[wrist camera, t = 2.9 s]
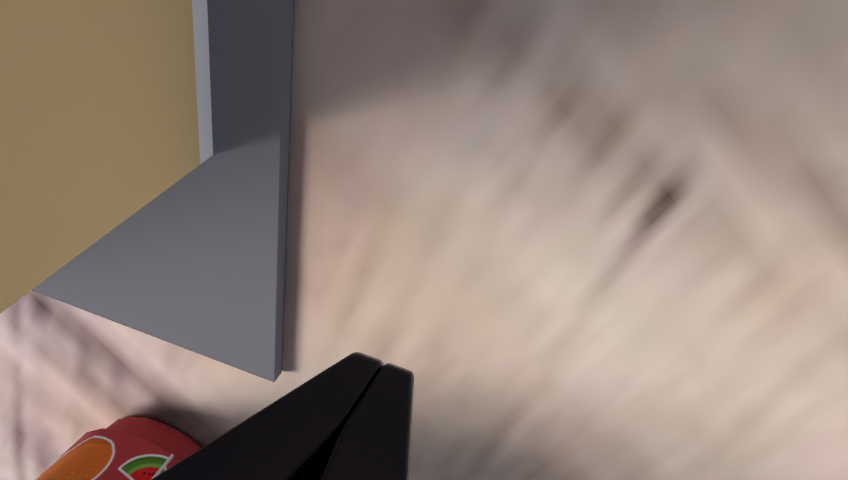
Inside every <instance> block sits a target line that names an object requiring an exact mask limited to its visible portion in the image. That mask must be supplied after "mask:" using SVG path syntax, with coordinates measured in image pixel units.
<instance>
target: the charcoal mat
mask: <svg viewBox="0 0 848 480" xmlns="http://www.w3.org/2000/svg"><path fill="white" fill-rule="evenodd" d="M207 10H208V36H209V62H210V88H211V114H212V140H213V155H212V156H211V157H210V158H208V159H207V160H206V161H204V162H203V163H202V164H200V165H199V166H197V167H196V168H195V169H193V170H192V171H191V172H189V173H188V174H187V175H185V176H184V177H183V178H181V179H180V180H179V181H177V182H176V183H175V184H173V185H172V186H171V187H169V188H168V189H167V190H165V191H164V192H162V193H161V194H160V195H158V196H157V197H156V198H154V199H153V200H152V201H150V202H149V203H148V204H146V205H145V206H144V207H142V208H141V209H140V210H138V211H137V212H136V213H134V214H133V215H132V216H130V217H129V218H128V219H126V220H125V221H123V222H122V223H121V224H119V225H118V226H117V227H115V228H114V229H113V230H111V231H110V232H109V233H107V234H106V235H105V236H103V237H102V238H101V239H99V240H98V241H97V242H95V243H94V244H93V245H91V246H90V247H88V248H87V249H86V250H84V251H83V252H82V253H80V254H79V255H78V256H76V257H75V258H74V259H72V260H71V261H70V262H68V263H67V264H66V265H64V266H63V267H62V268H60V269H59V270H58V271H56V272H55V273H54V274H52V275H51V276H49V277H48V278H47V279H45V280H44V281H43V282H41V283H40V284H39V285H37V286H36V287H35V288H33V289H32V290H33V291H36V292H38V293H41V294H43V295H46V296H49V297H51V298H54V299H57V300H59V301H62V302H64V303H67V304H70V305H72V306H75V307H78V308H80V309H83V310H86V311H88V312H91V313H93V314H96V315H99V316H101V317H104V318H107V319H109V320H112V321H114V322H117V323H120V324H122V325H125V326H128V327H130V328H133V329H135V330H138V331H141V332H143V333H146V334H149V335H151V336H154V337H156V338H159V339H162V340H164V341H167V342H170V343H172V344H175V345H178V346H180V347H183V348H185V349H188V350H191V351H193V352H196V353H199V354H201V355H204V356H206V357H209V358H212V359H214V360H217V361H220V362H222V363H225V364H227V365H230V366H233V367H235V368H238V369H241V370H243V371H246V372H248V373H251V374H254V375H256V376H259V377H262V378H264V379H267V380H270V381H272V382H275V380H276V379H277V378H278V376H279V375H280V373H281V371H282V341H283V311H284V281H285V251H286V221H287V191H288V161H289V131H290V102H291V72H292V42H293V12H294V0H207Z"/></svg>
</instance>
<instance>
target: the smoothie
mask: <svg viewBox="0 0 848 480" xmlns="http://www.w3.org/2000/svg"><path fill="white" fill-rule="evenodd" d="M200 448H201V447H200V446H199V445H198V444H196V443H195V442H194V441H193V440H192V439H190V438H189V437H188V436H187V435H185V434H183V433H181V432H180V431H178V430H176V429H174V428H173V427H171V426H169V425H166V424H163V423H161V422H158V421H155V420H152V419H149V418H143V417H132V416H131V417H127V418H123V419H119V420H117V421H116V422H114V423H113V424H112V425H110V426H109V427H108V428H107V429H99V430H95V431H91V432H87V433H85V435H84V436H82V437H81V438H80V439H79V440H78V441H77V442H76V443H75V444H74V445H73V446H72V447H71V448H69V449H68V450H67V451H66V452H65V453H64V454H63V455H62V456H61V457H60V458H59V459H57V460H56V461H55V462H54V463H53V464H52V465H51V466H50V467H49V468H48V469H47V470H46V471H44V472H43V473H42V474H41V475H40V476H39V477H38V478H37V479H36V480H151V479H153V478H154V477H156V476H157V475H159V474H161V473H162V472H164V471H165V470H167V469H169V468H170V467H172V466H173V465H175V464H177V463H178V462H180V461H181V460H183V459H184V458H186V457H188V456H189V455H191V454H192V453H194V452H196V451H197V450H199V449H200Z"/></svg>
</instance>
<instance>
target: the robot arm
mask: <svg viewBox="0 0 848 480" xmlns="http://www.w3.org/2000/svg"><path fill="white" fill-rule="evenodd" d="M413 386H414V375H413V373H412V372H411V371H410V370H407V369H404V368H401V367H398V366H396V365H393V364H390V363H387V364H385V365H383V362H382V361H381V360H379V359H376V358H373V357H371V356H368V355H365V354H362V353H359V352H356V353H352V354H350V355H349V356H347V357H345V358H344V359H342V360H341V361H339V362H338V363H336V364H334V365H333V366H331V367H330V368H328V369H326V370H325V371H323V372H322V373H320V374H318V375H317V376H315V377H314V378H312V379H310V380H309V381H307V382H306V383H304V384H302V385H301V386H299V387H298V388H296V389H294V390H293V391H291V392H290V393H288V394H287V395H285V396H283V397H282V398H280V399H279V400H277V401H275V402H274V403H272V404H271V405H269V406H267V407H266V408H264V409H263V410H261V411H259V412H258V413H256V414H255V415H253V416H251V417H250V418H248V419H247V420H245V421H243V422H242V423H240V424H239V425H237V426H235V427H234V428H232V429H231V430H229V431H228V432H226V433H224V434H223V435H221V436H220V437H218V438H216V439H215V440H213V441H212V442H210V443H208V444H207V445H205V446H204V447H202V448H200V449H199V450H197V451H196V452H194V453H192V454H191V455H189V456H188V457H186V458H184V459H183V460H181V461H180V462H178V463H177V464H175V465H173V466H172V467H170V468H169V469H167V470H165V471H164V472H162V473H161V474H159V475H157V476H156V477H154V478H153V479H151V480H409V462H410V443H411V424H412V405H413Z"/></svg>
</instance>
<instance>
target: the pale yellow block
mask: <svg viewBox="0 0 848 480" xmlns="http://www.w3.org/2000/svg"><path fill="white" fill-rule="evenodd" d="M212 155H213V140H212V114H211V88H210V62H209V36H208V10H207V0H0V313H1V312H2V311H4V310H5V309H6V308H8V307H9V306H10V305H12V304H13V303H14V302H16V301H17V300H19V299H20V298H21V297H23V296H24V295H25V294H27V293H28V292H29V291H31V290H32V289H33V288H35V287H36V286H37V285H39V284H40V283H41V282H43V281H44V280H45V279H47V278H48V277H49V276H51V275H52V274H54V273H55V272H56V271H58V270H59V269H60V268H62V267H63V266H64V265H66V264H67V263H68V262H70V261H71V260H72V259H74V258H75V257H76V256H78V255H79V254H80V253H82V252H83V251H84V250H86V249H87V248H88V247H90V246H91V245H93V244H94V243H95V242H97V241H98V240H99V239H101V238H102V237H103V236H105V235H106V234H107V233H109V232H110V231H111V230H113V229H114V228H115V227H117V226H118V225H119V224H121V223H122V222H123V221H125V220H126V219H128V218H129V217H130V216H132V215H133V214H134V213H136V212H137V211H138V210H140V209H141V208H142V207H144V206H145V205H146V204H148V203H149V202H150V201H152V200H153V199H154V198H156V197H157V196H158V195H160V194H161V193H162V192H164V191H165V190H167V189H168V188H169V187H171V186H172V185H173V184H175V183H176V182H177V181H179V180H180V179H181V178H183V177H184V176H185V175H187V174H188V173H189V172H191V171H192V170H193V169H195V168H196V167H197V166H199V165H200V164H202V163H203V162H204V161H206V160H207V159H208V158H210V157H211V156H212Z"/></svg>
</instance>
